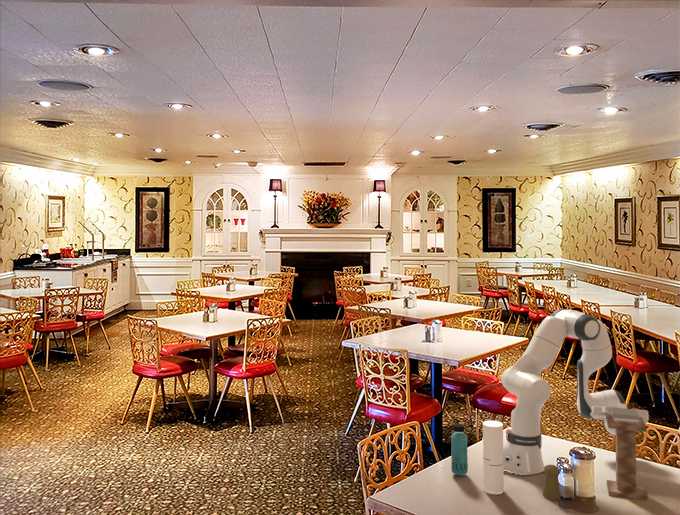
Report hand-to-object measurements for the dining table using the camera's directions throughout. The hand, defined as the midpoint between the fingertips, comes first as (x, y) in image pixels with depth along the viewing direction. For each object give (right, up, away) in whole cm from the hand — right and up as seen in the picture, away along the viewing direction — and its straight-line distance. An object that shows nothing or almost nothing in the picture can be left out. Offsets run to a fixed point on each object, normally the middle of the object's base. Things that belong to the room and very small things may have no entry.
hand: (620, 409), depth 219 cm
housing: (-3, 0, -8) cm, 9 cm away
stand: (-5, -26, -13) cm, 30 cm away
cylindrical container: (-52, -27, -10) cm, 59 cm away
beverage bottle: (-61, -27, +4) cm, 67 cm away
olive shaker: (-32, -27, -15) cm, 45 cm away
